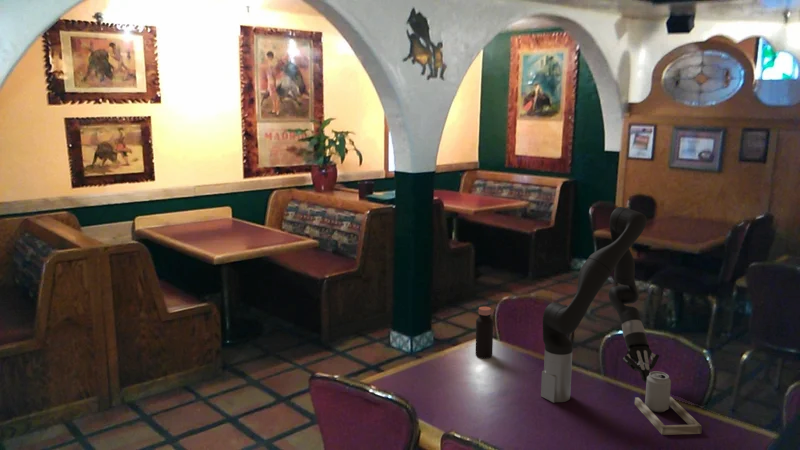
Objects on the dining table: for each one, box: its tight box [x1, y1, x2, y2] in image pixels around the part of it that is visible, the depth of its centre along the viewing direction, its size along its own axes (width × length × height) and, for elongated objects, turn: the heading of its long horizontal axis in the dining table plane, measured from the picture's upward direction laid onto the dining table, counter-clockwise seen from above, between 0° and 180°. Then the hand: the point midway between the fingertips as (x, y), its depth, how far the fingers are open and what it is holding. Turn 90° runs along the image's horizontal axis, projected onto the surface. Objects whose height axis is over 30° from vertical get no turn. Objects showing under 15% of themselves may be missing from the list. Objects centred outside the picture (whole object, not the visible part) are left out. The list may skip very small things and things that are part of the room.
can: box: [644, 370, 672, 413], centre depth 211 cm, size 8×8×12 cm
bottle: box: [475, 306, 494, 359], centre depth 255 cm, size 7×7×20 cm
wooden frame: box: [634, 395, 703, 436], centre depth 205 cm, size 20×12×2 cm, turn 3°
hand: (647, 381), depth 219 cm, fingers closed
